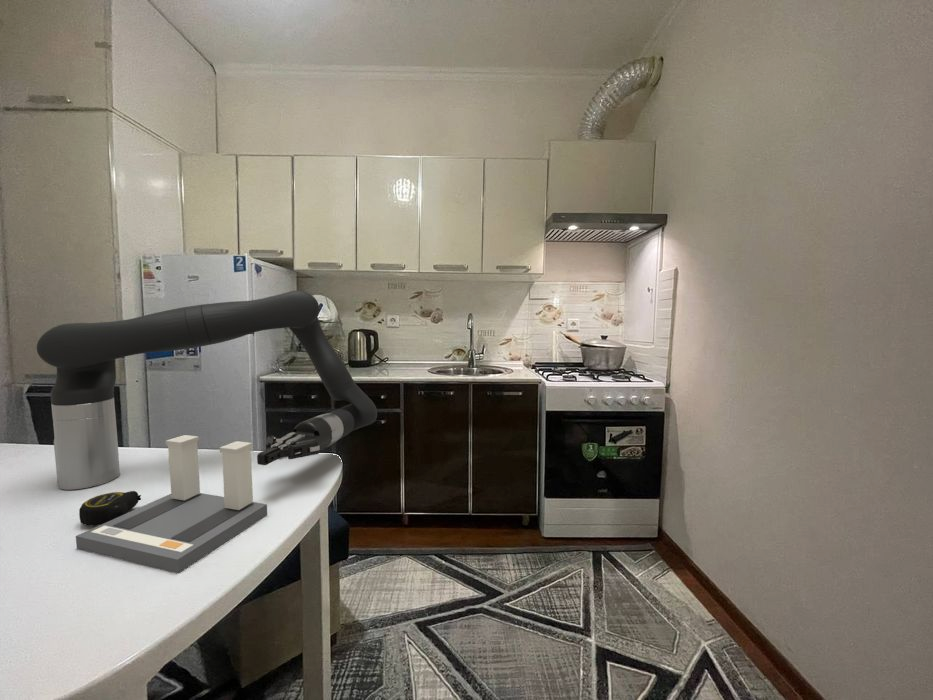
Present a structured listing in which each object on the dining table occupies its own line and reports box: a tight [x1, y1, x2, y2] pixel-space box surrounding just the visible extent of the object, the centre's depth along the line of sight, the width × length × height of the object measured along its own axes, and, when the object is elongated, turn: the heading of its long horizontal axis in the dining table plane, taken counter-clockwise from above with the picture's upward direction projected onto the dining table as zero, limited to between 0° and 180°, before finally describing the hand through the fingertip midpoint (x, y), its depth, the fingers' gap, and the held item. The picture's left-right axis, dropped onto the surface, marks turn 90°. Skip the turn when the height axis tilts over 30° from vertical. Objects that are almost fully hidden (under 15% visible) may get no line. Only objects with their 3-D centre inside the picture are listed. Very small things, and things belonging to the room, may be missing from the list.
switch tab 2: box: [219, 440, 254, 510], centre depth 66 cm, size 3×3×11 cm
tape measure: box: [78, 490, 142, 527], centre depth 66 cm, size 7×7×4 cm
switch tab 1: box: [165, 434, 201, 500], centre depth 70 cm, size 3×3×11 cm
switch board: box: [75, 492, 268, 574], centre depth 63 cm, size 20×16×2 cm
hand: (260, 459), depth 71 cm, fingers closed
